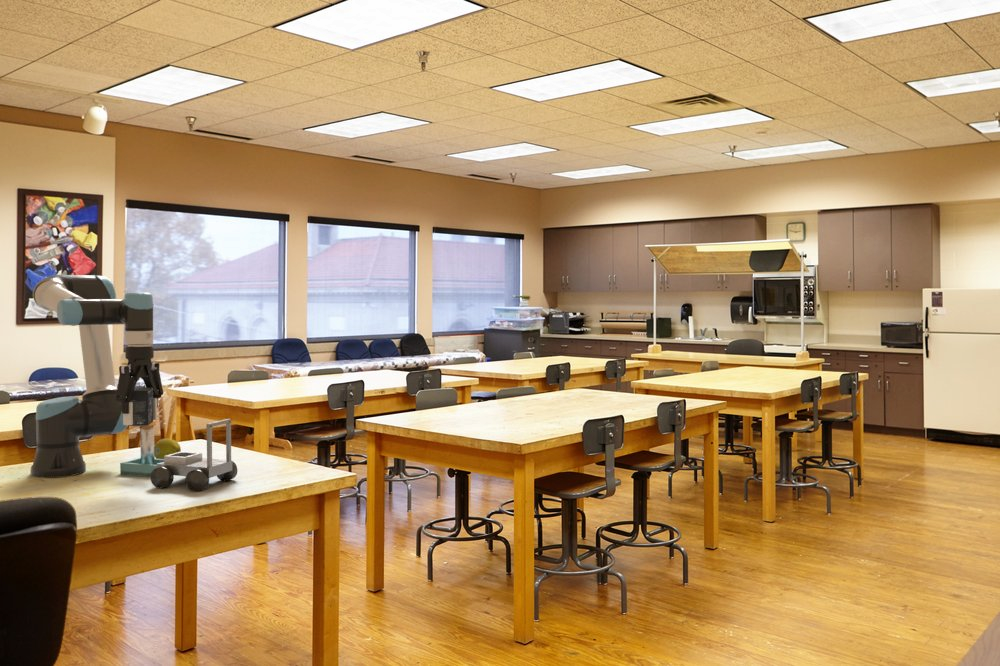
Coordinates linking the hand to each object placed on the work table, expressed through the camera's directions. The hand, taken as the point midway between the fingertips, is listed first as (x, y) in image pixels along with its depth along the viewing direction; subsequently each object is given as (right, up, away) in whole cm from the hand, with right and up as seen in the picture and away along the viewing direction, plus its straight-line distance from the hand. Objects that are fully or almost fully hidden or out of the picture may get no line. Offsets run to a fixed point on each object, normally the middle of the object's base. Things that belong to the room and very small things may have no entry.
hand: (140, 422), depth 235 cm
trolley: (+15, -19, +3) cm, 24 cm away
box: (0, -1, 0) cm, 1 cm away
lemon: (-6, -17, +34) cm, 39 cm away
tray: (-6, -18, +18) cm, 26 cm away
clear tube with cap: (-6, -17, +18) cm, 25 cm away
